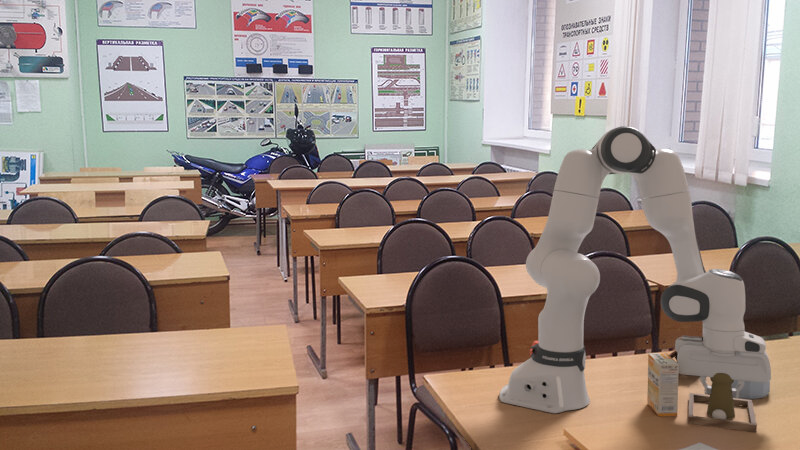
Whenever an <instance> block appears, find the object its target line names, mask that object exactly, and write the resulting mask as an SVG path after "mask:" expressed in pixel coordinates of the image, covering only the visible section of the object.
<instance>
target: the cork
mask: <svg viewBox="0 0 800 450" xmlns="http://www.w3.org/2000/svg"><path fill="white" fill-rule="evenodd" d="M709 379H710V381H711V395H710V398H709V402H707V403H708V404H707V409H706V414H707V415H708V416H709V415H710V418H713V417H712V413H713V411H714V410H716V409H721V410H723V411H724V412H725V413H726V420H732V418H733V419H734V418H735V416H736V415H735V414H736V413H735V405H734V404H733V397H732V386H731V384H732V383H733V382H734V380H732V379H731V377H730V376H729V375H728V374H726V373H716V374H715V375H714V376H713V377H709Z"/></svg>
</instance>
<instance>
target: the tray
mask: <svg viewBox="0 0 800 450" xmlns="http://www.w3.org/2000/svg"><path fill="white" fill-rule="evenodd" d="M688 395H689V396H688V397H689V399H688V422H689V423H688V422H687V423H688V424H692V423H694V424H695V425H701V426H708V427H715V428H724V429H731V430H740V431H746V432H753V431H755V432H754V433H757V428H758V425H757V419H756V415H755V410H754V405H753V399H742V398H733V404H734V407H735V406H738V407H740V406H739V405H742V406H741V407H744V406H747V407H748V408H747V407H746V408H747V414H748V413H749V414H748V419H750V420H749V422H746V421H745V422H744V421H738V420H731V419H726V420H723V419H715V418H713V417H707V416H706V417H705V416H697V415H694V402H702V403H709V398H710V395H706V394H703V393H693V392H688ZM694 424H693V425H694Z"/></svg>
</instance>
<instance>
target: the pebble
mask: <svg viewBox="0 0 800 450" xmlns="http://www.w3.org/2000/svg"><path fill="white" fill-rule="evenodd" d="M711 418H715V419H723V420H727V419H726V413H725V412H724V411H723V410H721V409H716V410H714V411H713V413H712V417H711Z"/></svg>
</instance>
